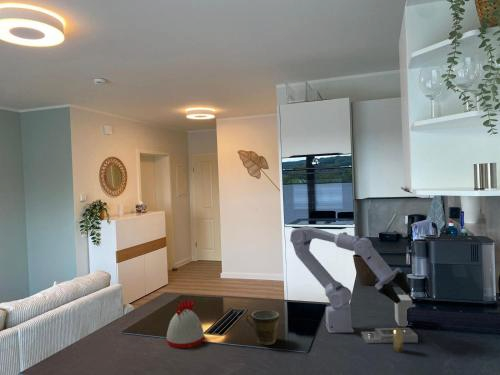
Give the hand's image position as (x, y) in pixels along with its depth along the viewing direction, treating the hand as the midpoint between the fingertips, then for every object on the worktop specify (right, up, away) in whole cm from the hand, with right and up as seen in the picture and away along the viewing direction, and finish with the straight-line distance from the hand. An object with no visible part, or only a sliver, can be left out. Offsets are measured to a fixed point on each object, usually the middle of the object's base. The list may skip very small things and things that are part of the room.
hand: (404, 297), depth 136 cm
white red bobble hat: (-79, -18, +7) cm, 82 cm away
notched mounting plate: (-5, -16, +2) cm, 16 cm away
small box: (+7, -15, +17) cm, 24 cm away
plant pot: (+11, -15, +78) cm, 80 cm away
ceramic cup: (-51, -17, +4) cm, 54 cm away
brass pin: (-5, -16, -8) cm, 18 cm away
